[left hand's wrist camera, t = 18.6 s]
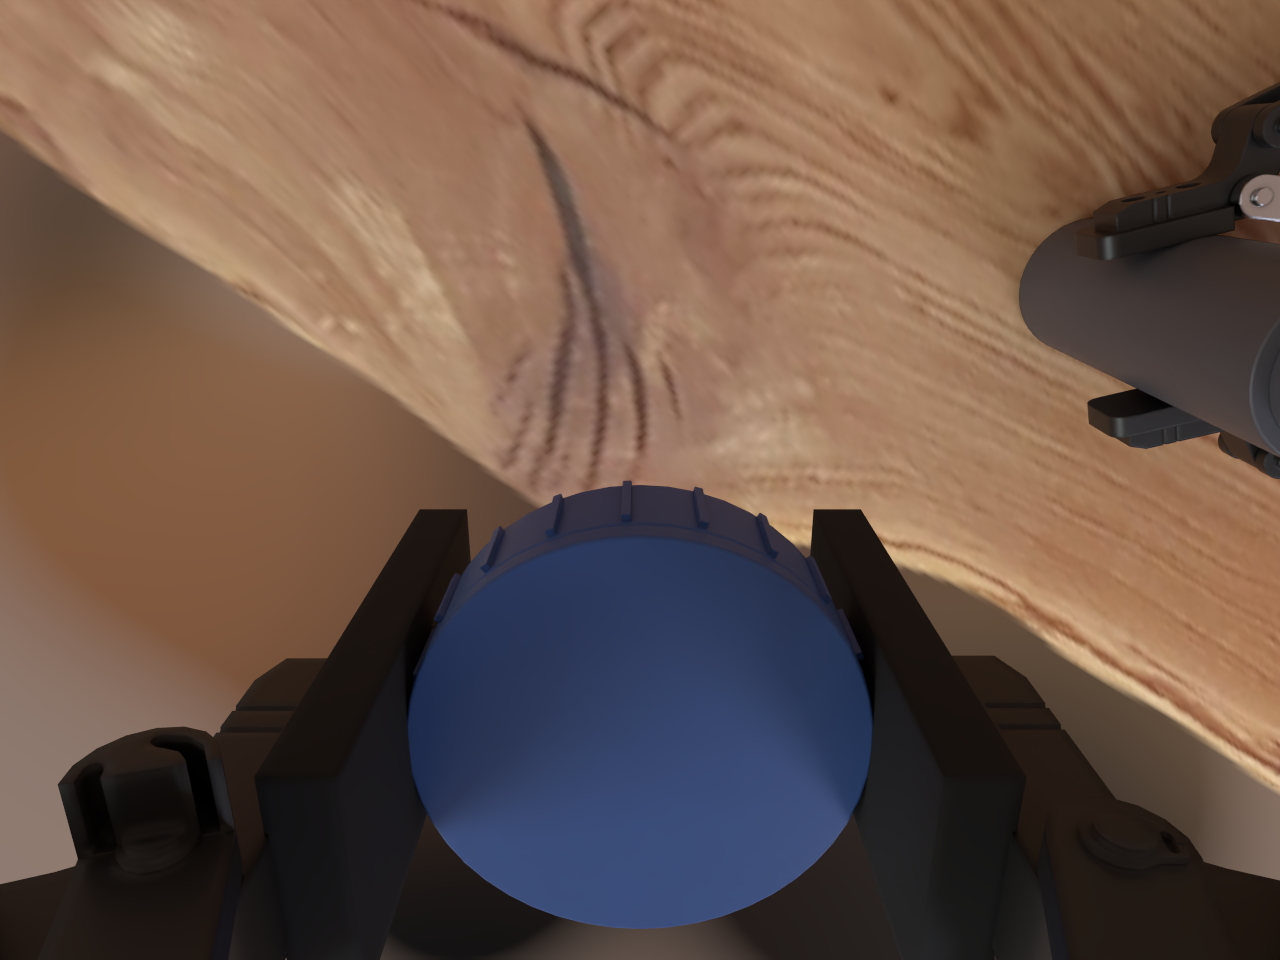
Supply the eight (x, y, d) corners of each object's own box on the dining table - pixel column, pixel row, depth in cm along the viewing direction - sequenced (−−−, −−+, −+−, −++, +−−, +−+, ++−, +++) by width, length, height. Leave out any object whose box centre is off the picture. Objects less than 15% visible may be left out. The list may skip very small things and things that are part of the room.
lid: (916, 738, 13) (955, 820, 11) (572, 896, 14) (563, 993, 12) (725, 399, 11) (738, 439, 9) (347, 608, 12) (302, 676, 10)
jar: (999, 335, 34) (1251, 466, 20) (1048, 203, 33) (1360, 244, 18) (1120, 364, 35) (1450, 512, 21) (1174, 235, 33) (1575, 299, 19)
